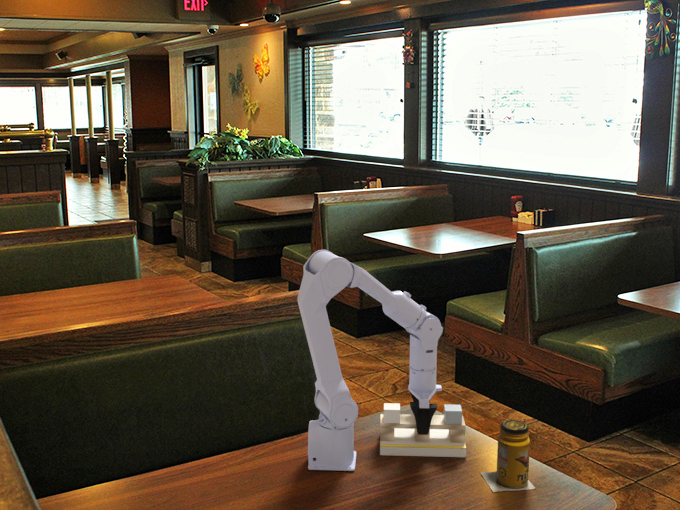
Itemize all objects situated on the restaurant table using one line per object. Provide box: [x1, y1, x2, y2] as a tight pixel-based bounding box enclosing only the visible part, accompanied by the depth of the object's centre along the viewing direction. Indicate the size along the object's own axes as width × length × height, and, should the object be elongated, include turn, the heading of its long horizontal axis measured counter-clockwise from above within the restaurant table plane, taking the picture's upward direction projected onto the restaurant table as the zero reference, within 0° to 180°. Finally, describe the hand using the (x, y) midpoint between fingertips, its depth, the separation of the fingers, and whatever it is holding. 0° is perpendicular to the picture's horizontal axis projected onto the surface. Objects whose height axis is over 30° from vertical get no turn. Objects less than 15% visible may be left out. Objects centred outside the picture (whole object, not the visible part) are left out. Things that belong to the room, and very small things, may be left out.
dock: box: [379, 428, 467, 458], centre depth 152 cm, size 18×10×2 cm, turn 86°
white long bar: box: [379, 413, 467, 444], centre depth 151 cm, size 18×5×4 cm, turn 86°
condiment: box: [480, 419, 536, 493], centre depth 136 cm, size 7×8×12 cm
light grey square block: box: [443, 403, 463, 425], centre depth 150 cm, size 4×4×3 cm
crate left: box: [383, 402, 401, 423], centre depth 151 cm, size 4×4×3 cm
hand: (422, 426), depth 151 cm, fingers open, 7 cm apart
